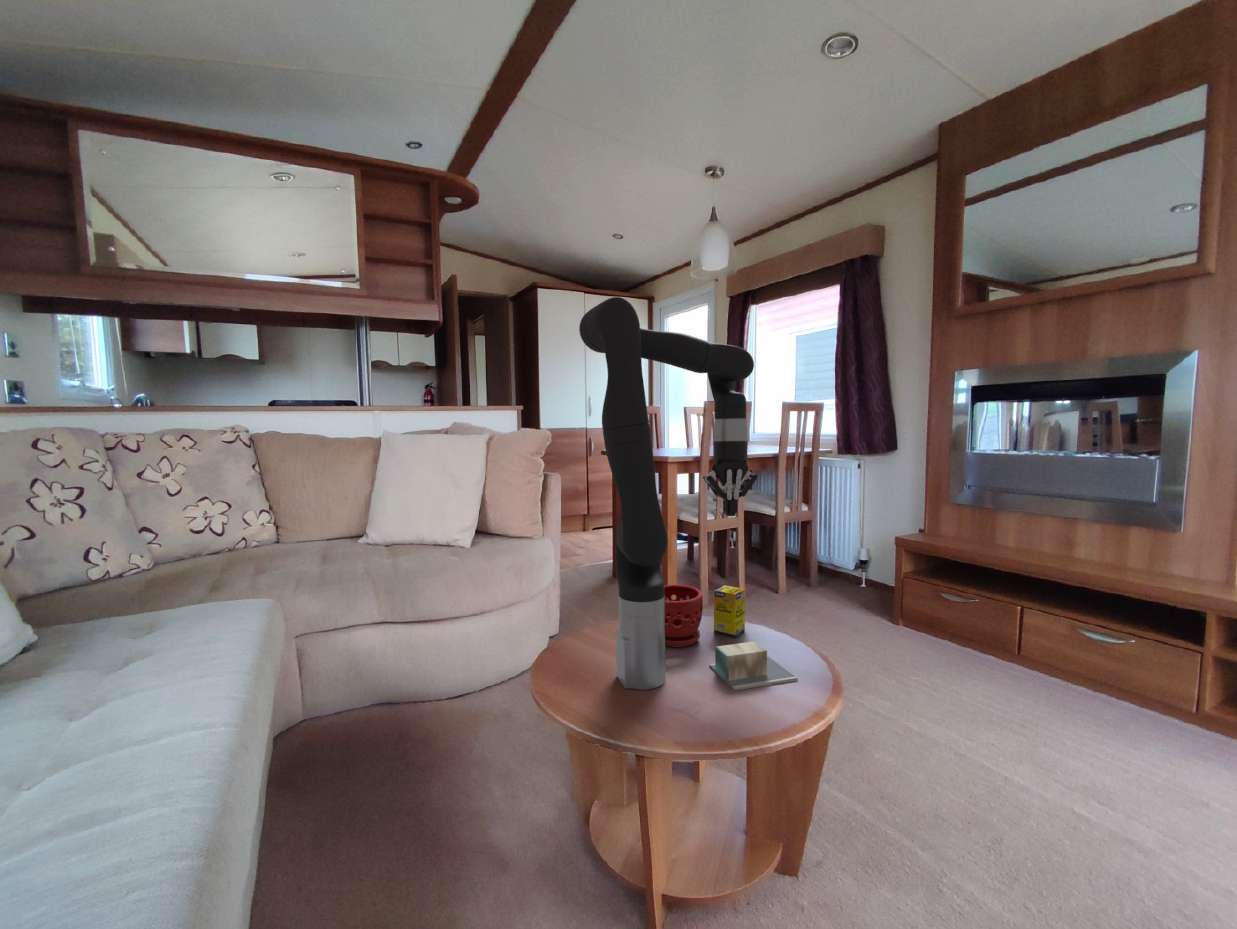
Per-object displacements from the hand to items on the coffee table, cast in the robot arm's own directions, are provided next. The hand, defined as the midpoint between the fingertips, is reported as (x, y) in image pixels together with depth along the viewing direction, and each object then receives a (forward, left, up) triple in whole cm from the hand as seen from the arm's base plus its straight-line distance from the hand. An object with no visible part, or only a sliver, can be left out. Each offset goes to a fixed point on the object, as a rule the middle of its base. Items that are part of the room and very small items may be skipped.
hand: (730, 515), depth 117 cm
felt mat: (-2, -12, -31) cm, 33 cm away
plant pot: (-10, +9, -31) cm, 34 cm away
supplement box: (+5, +10, -31) cm, 33 cm away
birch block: (0, -12, -28) cm, 30 cm away
